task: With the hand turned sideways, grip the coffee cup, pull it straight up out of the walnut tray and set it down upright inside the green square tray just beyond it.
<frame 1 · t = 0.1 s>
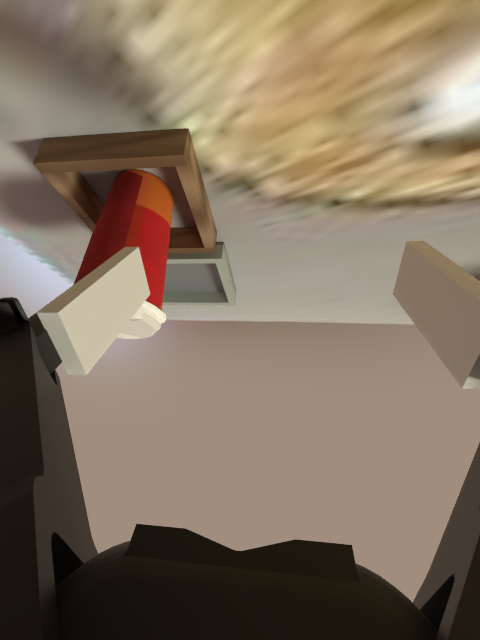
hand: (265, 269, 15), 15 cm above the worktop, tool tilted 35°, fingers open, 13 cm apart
walnut tray: (145, 193, 30), on the worktop
green square tray: (186, 271, 45), on the worktop
coffee cup: (145, 191, 30), resting in walnut tray
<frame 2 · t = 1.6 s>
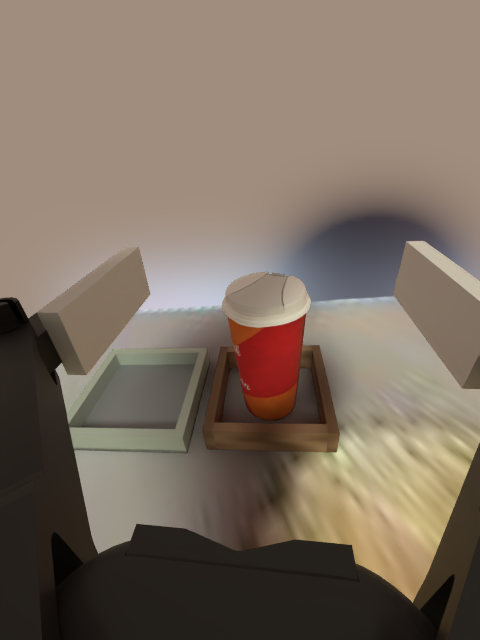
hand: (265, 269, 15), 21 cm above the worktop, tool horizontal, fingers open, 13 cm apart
walnut tray: (269, 400, 34), on the worktop
green square tray: (146, 399, 36), on the worktop
coffee cup: (269, 401, 35), resting in walnut tray
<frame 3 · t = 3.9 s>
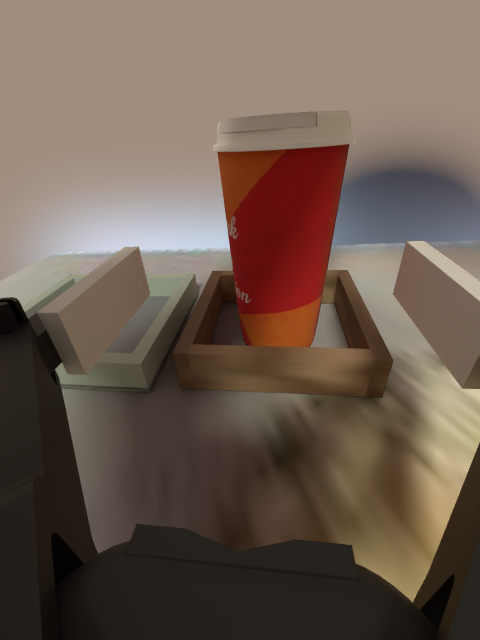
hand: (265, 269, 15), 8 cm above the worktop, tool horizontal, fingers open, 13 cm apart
walnut tray: (277, 334, 24), on the worktop
green square tray: (104, 330, 26), on the worktop
coffee cup: (277, 336, 24), resting in walnut tray
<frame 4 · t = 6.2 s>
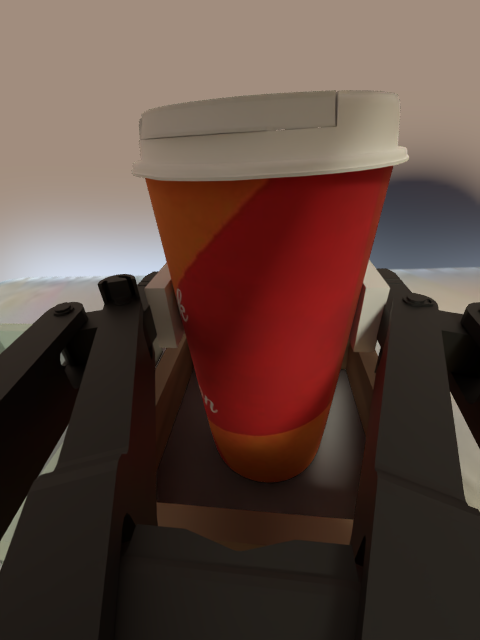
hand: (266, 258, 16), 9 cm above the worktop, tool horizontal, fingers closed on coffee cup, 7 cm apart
walnut tray: (265, 431, 16), on the worktop
green square tray: (20, 418, 18), on the worktop
coffee cup: (265, 434, 17), resting in walnut tray, touching gripper
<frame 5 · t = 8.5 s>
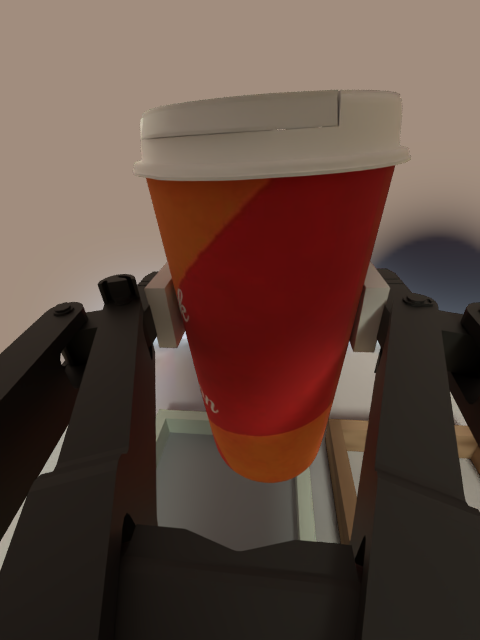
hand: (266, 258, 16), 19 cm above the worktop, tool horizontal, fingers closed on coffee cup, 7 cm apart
walnut tray: (429, 524, 21), on the worktop
green square tray: (219, 505, 23), on the worktop
coffee cup: (266, 434, 17), point 10 cm above the worktop, touching gripper
when the fingers open (10 cm above the worktop, at t = 11.1 s): coffee cup moves 1 cm, resting on green square tray.
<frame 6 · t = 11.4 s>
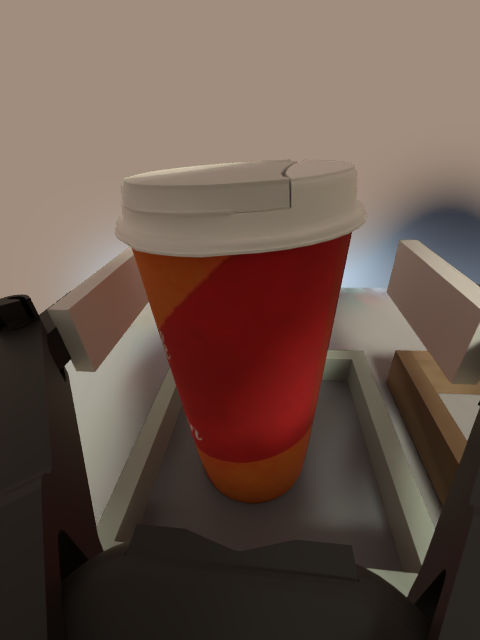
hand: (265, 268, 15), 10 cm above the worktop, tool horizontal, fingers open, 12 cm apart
green square tray: (265, 452, 18), on the worktop
coffee cup: (252, 454, 17), resting on green square tray
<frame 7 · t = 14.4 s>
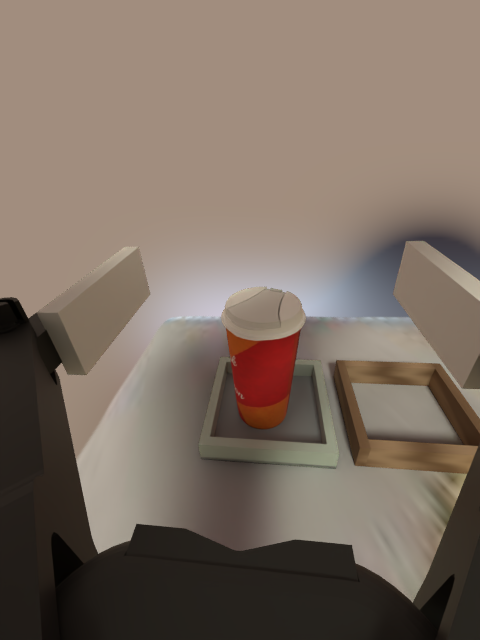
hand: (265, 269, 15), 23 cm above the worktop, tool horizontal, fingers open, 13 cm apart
walnut tray: (399, 417, 34), on the worktop
green square tray: (268, 410, 36), on the worktop
coffee cup: (262, 410, 36), resting on green square tray
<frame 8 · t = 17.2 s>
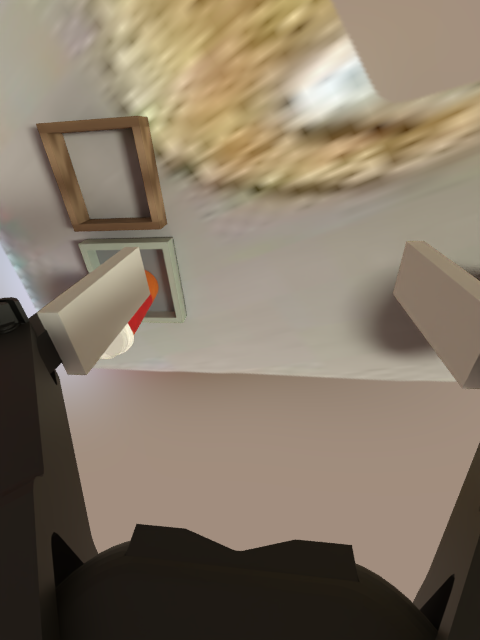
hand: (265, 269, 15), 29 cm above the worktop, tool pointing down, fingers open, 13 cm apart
walnut tray: (113, 177, 40), on the worktop
green square tray: (140, 279, 49), on the worktop
coffee cup: (142, 284, 49), resting on green square tray
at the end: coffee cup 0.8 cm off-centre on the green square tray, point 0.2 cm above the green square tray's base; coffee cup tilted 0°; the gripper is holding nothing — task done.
